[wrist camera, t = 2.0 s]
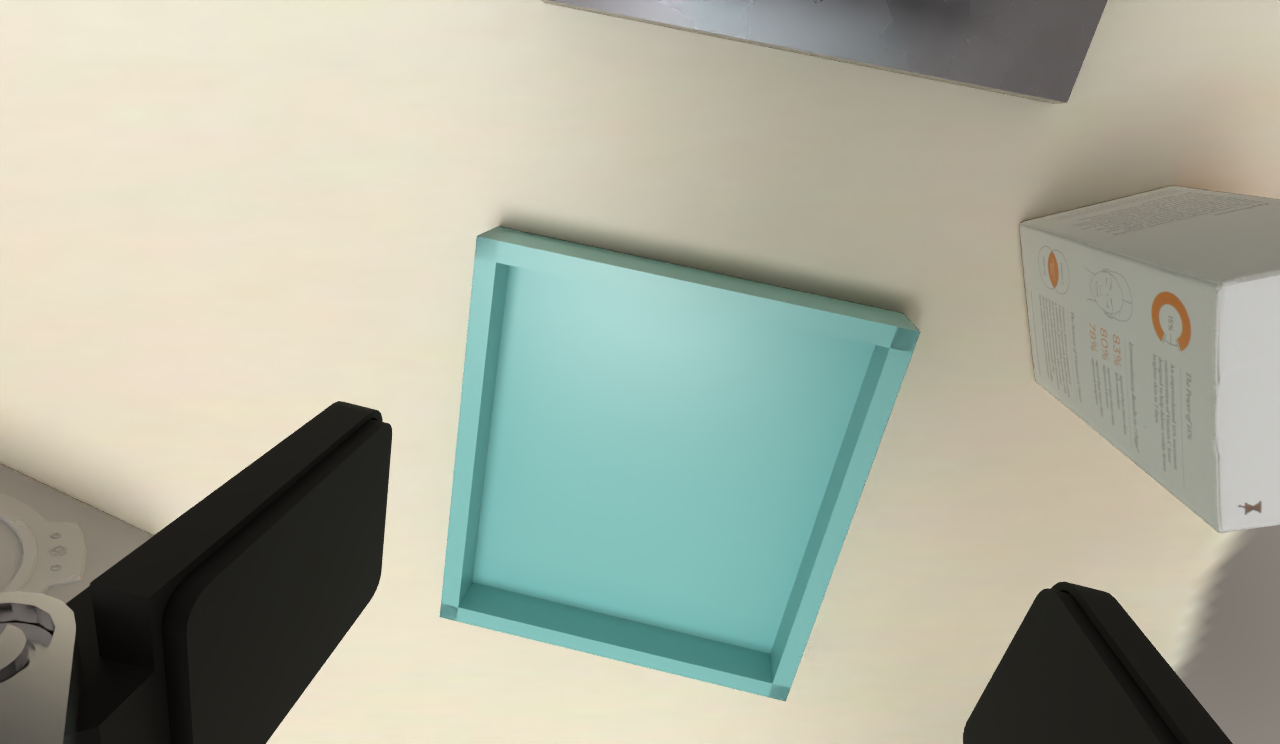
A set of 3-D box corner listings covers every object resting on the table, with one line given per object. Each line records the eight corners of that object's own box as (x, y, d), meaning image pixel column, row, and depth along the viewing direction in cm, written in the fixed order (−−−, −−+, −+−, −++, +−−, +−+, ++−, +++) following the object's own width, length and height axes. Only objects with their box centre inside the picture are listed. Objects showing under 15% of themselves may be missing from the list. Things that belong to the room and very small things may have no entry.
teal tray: (903, 313, 32) (920, 331, 29) (781, 660, 40) (785, 701, 37) (498, 226, 33) (476, 236, 30) (459, 583, 41) (439, 617, 38)
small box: (1179, 354, 31) (1470, 504, 19) (1032, 383, 32) (1215, 540, 20) (1175, 179, 28) (1507, 222, 16) (1015, 218, 30) (1213, 285, 18)
